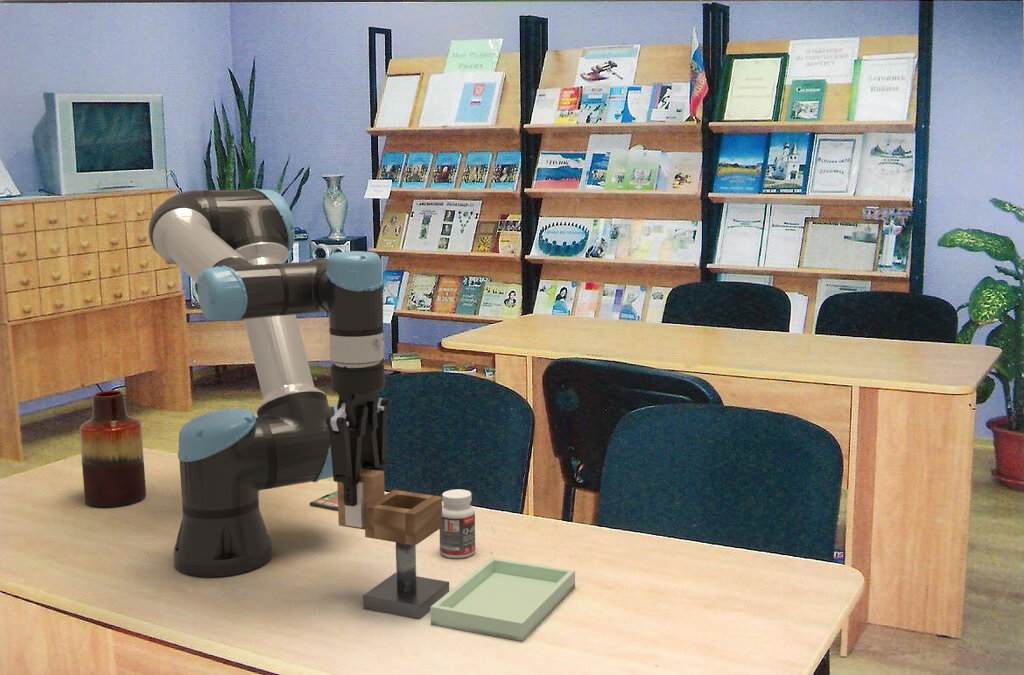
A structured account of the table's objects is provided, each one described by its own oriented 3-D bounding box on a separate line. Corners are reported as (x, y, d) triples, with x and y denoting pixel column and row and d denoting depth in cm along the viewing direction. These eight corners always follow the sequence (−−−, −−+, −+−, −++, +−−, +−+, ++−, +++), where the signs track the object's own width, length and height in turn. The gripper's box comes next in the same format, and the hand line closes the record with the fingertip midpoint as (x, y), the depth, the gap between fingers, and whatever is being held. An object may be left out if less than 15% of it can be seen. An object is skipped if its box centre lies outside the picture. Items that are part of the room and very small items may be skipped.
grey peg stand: (363, 608, 150) (361, 538, 148) (395, 585, 158) (393, 519, 156) (419, 619, 146) (417, 547, 145) (449, 594, 155) (448, 527, 153)
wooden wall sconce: (442, 526, 153) (441, 473, 151) (415, 545, 146) (414, 489, 144) (359, 513, 158) (357, 461, 157) (328, 531, 151) (327, 477, 150)
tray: (430, 624, 145) (430, 606, 144) (491, 573, 162) (491, 557, 162) (522, 641, 139) (522, 623, 139) (575, 586, 157) (575, 570, 157)
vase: (103, 489, 206) (96, 386, 203) (156, 491, 205) (149, 387, 201) (73, 507, 195) (65, 399, 192) (128, 509, 194) (121, 400, 191)
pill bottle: (470, 560, 168) (469, 500, 166) (435, 558, 169) (434, 498, 167) (478, 547, 173) (478, 489, 172) (445, 545, 174) (444, 487, 173)
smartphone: (375, 521, 188) (375, 514, 188) (309, 508, 195) (309, 501, 195) (402, 508, 195) (401, 502, 195) (337, 496, 202) (337, 490, 202)
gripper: (349, 375, 141) (354, 544, 145) (409, 354, 155) (411, 508, 159) (301, 370, 144) (307, 536, 148) (364, 350, 158) (368, 501, 162)
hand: (361, 521), depth 154 cm, fingers closed on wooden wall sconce, 3 cm apart
